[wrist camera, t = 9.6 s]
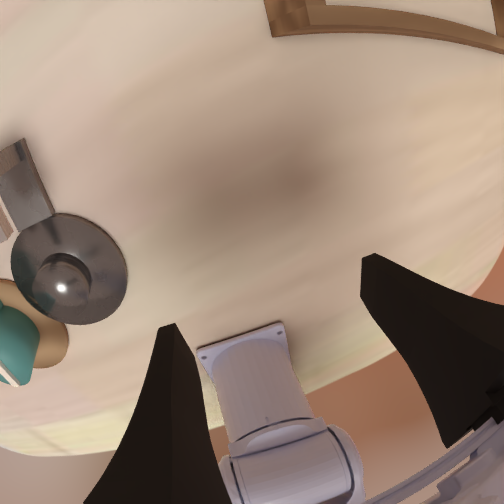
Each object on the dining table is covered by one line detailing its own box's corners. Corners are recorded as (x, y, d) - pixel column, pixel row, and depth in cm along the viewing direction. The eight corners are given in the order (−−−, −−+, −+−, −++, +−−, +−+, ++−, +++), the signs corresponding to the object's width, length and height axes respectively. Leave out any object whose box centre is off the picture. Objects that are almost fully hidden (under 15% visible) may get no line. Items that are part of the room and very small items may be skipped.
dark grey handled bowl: (147, 301, 21) (148, 359, 17) (54, 330, 20) (42, 383, 16) (64, 115, 13) (24, 133, 9) (-36, 179, 12) (-81, 215, 8)
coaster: (89, 352, 22) (88, 357, 22) (17, 369, 21) (16, 374, 21) (23, 263, 17) (20, 267, 16) (-45, 297, 16) (-48, 301, 15)
